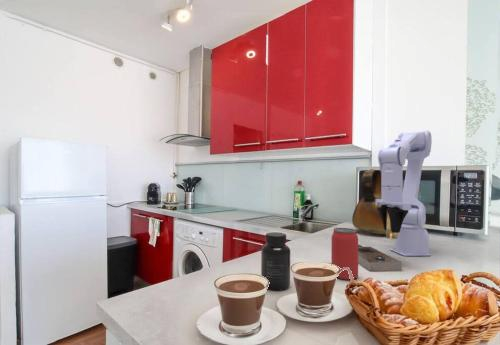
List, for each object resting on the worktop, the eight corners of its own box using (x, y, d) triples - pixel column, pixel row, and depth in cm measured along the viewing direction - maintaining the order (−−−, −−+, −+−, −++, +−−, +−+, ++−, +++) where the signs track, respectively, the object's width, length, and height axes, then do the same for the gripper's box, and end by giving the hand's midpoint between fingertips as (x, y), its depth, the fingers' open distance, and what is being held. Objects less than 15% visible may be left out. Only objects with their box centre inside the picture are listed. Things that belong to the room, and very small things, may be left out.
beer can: (355, 282, 65) (355, 233, 65) (328, 277, 68) (328, 230, 69) (360, 274, 70) (360, 229, 71) (335, 269, 74) (335, 226, 74)
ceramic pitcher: (404, 233, 126) (404, 169, 126) (391, 240, 111) (391, 168, 112) (362, 227, 139) (362, 170, 140) (345, 233, 125) (345, 168, 125)
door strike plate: (335, 248, 97) (335, 239, 97) (359, 248, 98) (359, 239, 98) (370, 271, 73) (370, 260, 73) (401, 270, 74) (401, 259, 74)
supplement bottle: (266, 278, 68) (267, 230, 68) (293, 282, 65) (293, 232, 65) (256, 288, 61) (257, 235, 61) (286, 293, 59) (286, 238, 59)
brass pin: (393, 236, 83) (393, 210, 83) (399, 238, 80) (399, 211, 80) (384, 236, 82) (384, 210, 83) (390, 238, 79) (390, 211, 80)
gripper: (366, 185, 88) (366, 227, 88) (394, 187, 74) (394, 236, 74) (387, 185, 89) (387, 226, 89) (418, 187, 74) (418, 236, 74)
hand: (391, 231), depth 81 cm, fingers closed on brass pin, 3 cm apart
